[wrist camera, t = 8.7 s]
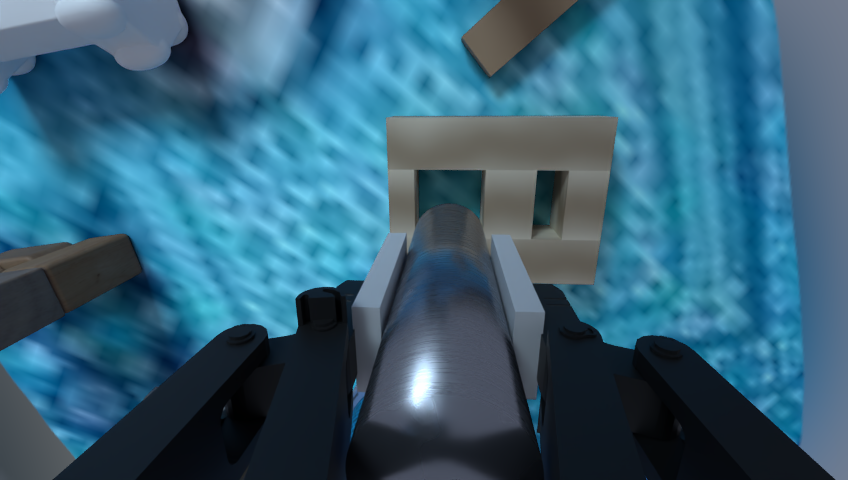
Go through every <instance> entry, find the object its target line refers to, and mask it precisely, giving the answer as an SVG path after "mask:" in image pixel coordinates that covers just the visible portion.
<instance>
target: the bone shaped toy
mask: <svg viewBox="0 0 848 480" xmlns="http://www.w3.org/2000/svg"><path fill="white" fill-rule="evenodd" d="M187 34H188V24H187V21H186V19H185V17H184V16H183V14H182V13H181V10H180V7H179V4H178V1H177V0H0V94H1V93H2V92H3V91H5V89H6V88H7V86H8V79H9V78H10V77H11V76H13V75H22V74H25V73H28V72H30V71H31V70H32V69H33V68H34V67H35V64H36V57H35V56H36V55H41V54H46V53H52V52H57V51H62V50H67V49H72V48H77V47H83V46H88V45H93V44H95V45H97V46H98V47H100V48H102V49H103V50H105V51H107V52H108V53H110V54H111V55H113V56H114V58H115V60H116V61H117V63H118V64H120V65H121V66H122V67H124V68H126V69H129V70H134V71H146V70H151V69H154V68H157V67H159V66H161V65H162V64H164V63H165V62H166V61H167V60H168V58H169V57H170V54H171V47H172V46H175V45H178V44H180V43H181V42H183V41H184V39H185V38H186V37H187Z"/></svg>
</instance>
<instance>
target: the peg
mask: <svg viewBox="0 0 848 480" xmlns="http://www.w3.org/2000/svg"><path fill="white" fill-rule="evenodd" d="M345 473H346V479H347V480H544V468H543V462H542V458H541V454H540V451H539V447H538V443H537V439H536V435H535V431H534V427H533V423H532V419H531V415H530V411H529V407H528V403H527V399H526V395H525V391H524V388H523V384H522V380H521V376H520V372H519V368H518V364H517V360H516V356H515V352H514V348H513V344H512V340H511V336H510V332H509V328H508V325H507V321H506V317H505V313H504V309H503V305H502V301H501V297H500V293H499V289H498V285H497V281H496V277H495V273H494V269H493V265H492V262H491V258H490V254H489V250H488V246H487V242H486V238H485V234H484V230H483V227H482V224H481V222H480V220H479V219H478V217H477V216H476V215H475V214H474V213H473V212H472V211H471V210H469V209H468V208H466V207H464V206H461V205H457V204H441V205H437V206H435V207H433V208H431V209H429V210H428V211H426V212H425V213H424V214H423V215H422V216H421V218H420V219H419V220H418V222H417V224H416V227H415V231H414V234H413V237H412V240H411V244H410V247H409V250H408V254H407V257H406V260H405V264H404V267H403V270H402V273H401V277H400V280H399V283H398V287H397V290H396V293H395V296H394V300H393V303H392V306H391V310H390V313H389V316H388V320H387V323H386V326H385V329H384V333H383V336H382V339H381V343H380V346H379V349H378V353H377V356H376V359H375V362H374V366H373V369H372V372H371V376H370V379H369V382H368V386H367V389H366V392H365V395H364V399H363V402H362V405H361V409H360V412H359V415H358V419H357V422H356V425H355V428H354V432H353V435H352V438H351V442H350V445H349V448H348V452H347V456H346V462H345Z"/></svg>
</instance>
